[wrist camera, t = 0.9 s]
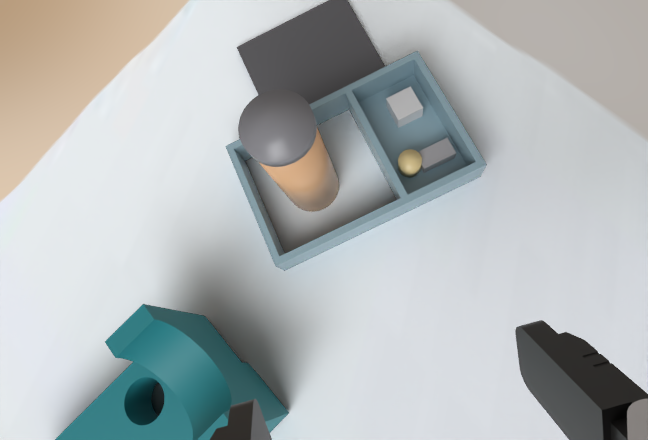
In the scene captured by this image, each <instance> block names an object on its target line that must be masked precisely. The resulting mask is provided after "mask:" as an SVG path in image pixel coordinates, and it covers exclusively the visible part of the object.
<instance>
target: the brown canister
mask: <svg viewBox="0 0 648 440" xmlns="http://www.w3.org/2000/svg"><path fill="white" fill-rule="evenodd" d="M238 131H239V138H240V141H241V143H242V145H243V147H244V148H245V149H246V151H247V152H248V153H249V154H250V155H251V156H252V157H253V158H254V159H255V160H256V161H258V162H259V163H260V165H261V166H262V167H263V168H264V169H265V170H266V172H267V173H268V174H269V175H270V176H271V177H272V179H273V180H274V181H275V182H276V183H277V185H278V186H279V187H280V188H281V189H282V190H283V192H284V193H285V194H286V195H287V196H288V197H289V199H290V200H291V201H292V202H293V203H294V204H295V205H296V206H297V207H298V208H300V209H302V210H305V211H319V210H322V209H324V208H326V207H328V206H329V205H330V204H331V203H332V202H333V201H334V200H335V198H336V196H337V194H338V190H339V180H338V177H337V174H336V172H335V170H334V167H333V165H332V162H331V160H330V157H329V155H328V152H327V150H326V148H325V145H324V143H323V140H322V138H321V135H320V133H319V130H318V128H317V124H316V119H315V117H314V114H313V112H312V109H311V107H310V105H309V104H308V102H307V101H306V100H305V99H304V98H303V97H302V96H300V95H299V94H297V93H295V92H293V91H290V90H283V89H277V90H270V91H267V92H264V93H262V94H260V95H258V96H257V97H255V98H254V99H253V100H252V101H251V102H250V103H249V104H248V105H247V106H246V108H245V109H244V111H243V113H242V115H241V117H240V121H239V127H238Z"/></svg>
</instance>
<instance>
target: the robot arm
mask: <svg viewBox="0 0 648 440" xmlns="http://www.w3.org/2000/svg"><path fill="white" fill-rule="evenodd" d="M516 341H517V349H518V357H519V365H520V371H521V375H522V377H523V380H524V382H525V384H526V386H527V387H528V389H529V390H530V392H531V393H532V394H533V395H534V397H535V398H536V399H537V400H538V402H539V403H540V404H541V405H542V407H543V408H544V409H545V410H546V411H547V413H548V414H549V415H550V416H551V418H552V419H553V420H554V421H555V423H556V424H557V425H558V426H559V428H560V429H561V430H562V431H563V433H564V434H565V435H566V436H567V437H568V439H569V440H648V394H647V393H646V392H645V391H643V390H642V389H641V388H640V387H639V386H638V385H636V384H635V383H634V382H633V381H632V380H631V379H629V378H628V377H627V376H626V375H625V374H624V373H622V372H621V371H620V370H619V369H618V368H617V367H615V366H614V365H613V364H612V363H611V364H610V363H609V361H608V360H607V359H606V358H605V357H604V356H602V355H601V354H599V353H598V351H597V350H595V349H594V348H593V347H592V346H591V345H590V344H588V343H587V342H586V341H585V340H583V339H581V338H578V337H576V336H574V335H572V334H569V333H567V332H565V333H561V334H558V333H556V332H555V331H554V330H553V329H552V328H551V327H550V326H549V325H548V324H547V323H545V322H544V321H542V320H541V321H537V322H533V323H530V324H526V325H522V326H519V327H517V328H516ZM210 440H272V439H271V436H270V433H269V431H268V428H267V425H266V422H265V420H264V417H263V414H262V411H261V409H260V406H259V403H258V401H257V400H256V399H253V400H249V401H246V402H242V403H238V404H235V405H232V406H231V407H230V411H229V418H228V425H227V426H224V427H220V428H217V429H216V430H215V432H214V433H213V435H212V437H211V438H210Z"/></svg>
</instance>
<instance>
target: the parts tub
mask: <svg viewBox="0 0 648 440" xmlns="http://www.w3.org/2000/svg"><path fill="white" fill-rule="evenodd" d="M309 105H310V107H311V109H312V112H313V114H314V117H315V119H316V124H317V125H318V124H320V123H322V122H324V121H326V120H328V119H330V118H332V117H335V116H337V115H339V114H341V113H343V112H345V111H347V110H350V112H351V114H352V116H353V117H354V119H355V121H356V123H357V125H358V127H359V129H360V131H361V133H362V135H363V136H364V138H365V140H366V142H367V144H368V146H369V148H370V150H371V152H372V154H373V155H374V157H375V159H376V161H377V163H378V165H379V167H380V169H381V171H382V173H383V174H384V176H385V178H386V180H387V182H388V184H389V186H390V188H391V190H392V192H393V193H394V195H395V197H396V199H397V200H396V201H394V202H392V203H389V204H387V205H385V206H383V207H381V208H379V209H377V210H375V211H373V212H371V213H369V214H367V215H365V216H362V217H360V218H358V219H356V220H354V221H352V222H350V223H348V224H346V225H344V226H342V227H340V228H338V229H335V230H333V231H331V232H329V233H327V234H325V235H323V236H321V237H319V238H317V239H315V240H313V241H311V242H308V243H306V244H304V245H302V246H300V247H298V248H296V249H294V250H292V251H290V252H288V253H286V254H285V253H284V251H283V249H282V246H281V244H280V242H279V239H278V237H277V235H276V232H275V230H274V228H273V225H272V223H271V221H270V218H269V216H268V214H267V211H266V209H265V207H264V204H263V202H262V200H261V197H260V195H259V193H258V190H257V188H256V186H255V183H254V181H253V179H252V176H251V174H250V172H249V169H248V167H247V165H246V162H245V161H246V160H248V159H250V158H252V156H251V155H250V154H249V153H248V152H247V151H246V149H245V148H244V147H243V145H242V143H241V141H240V139H239V140H237V141H235V142H233V143H231V144H229V145H227V146H226V149H227V151H228V153H229V156H230V158H231V161H232V163H233V165H234V168H235V170H236V173H237V175H238V177H239V180H240V182H241V185H242V187H243V189H244V192H245V194H246V196H247V199H248V201H249V204H250V206H251V208H252V211H253V213H254V216H255V218H256V220H257V223H258V225H259V228H260V230H261V232H262V235H263V237H264V240H265V242H266V244H267V247H268V249H269V252H270V254H271V256H272V259H273V261H274V263H275V266H276V267H278V268H280V269H282V270H284V271H285V270H287V269H289V268H291V267H293V266H295V265H297V264H299V263H301V262H304V261H306V260H308V259H310V258H312V257H314V256H316V255H318V254H320V253H322V252H324V251H326V250H329V249H331V248H333V247H335V246H337V245H339V244H341V243H343V242H345V241H347V240H349V239H351V238H354V237H356V236H358V235H360V234H362V233H364V232H366V231H368V230H370V229H372V228H374V227H377V226H379V225H381V224H383V223H385V222H387V221H389V220H391V219H393V218H395V217H397V216H399V215H402V214H404V213H406V212H408V211H410V210H412V209H414V208H416V207H418V206H420V205H422V204H424V203H427V202H429V201H431V200H433V199H435V198H437V197H439V196H441V195H443V194H445V193H447V192H449V191H452V190H454V189H456V188H458V187H460V186H462V185H464V184H466V183H468V182H470V181H472V180H474V179H477V178H479V177H480V176H481V174H482V172H483V171H484V169H485V167H486V165H487V164H486V163H485V161H484V159H483V158H482V156H481V154H480V153H479V151H478V149H477V148H476V146H475V145H474V143H473V141H472V140H471V138H470V136H469V135H468V133H467V131H466V130H465V128H464V126H463V125H462V123H461V122H460V120H459V118H458V117H457V115H456V113H455V112H454V110H453V108H452V107H451V105H450V103H449V102H448V100H447V99H446V97H445V95H444V94H443V92H442V90H441V89H440V87H439V85H438V84H437V82H436V80H435V79H434V77H433V76H432V74H431V72H430V71H429V69H428V67H427V66H426V64H425V62H424V61H423V59H422V57H421V56H420V54H419V52H418V51H416V52H414V53H412V54H410V55H408V56H406V57H404V58H402V59H400V60H398V61H396V62H394V63H392V64H390V65H388V66H386V67H384V68H382V69H380V70H378V71H376V72H374V73H372V74H370V75H368V76H366V77H364V78H362V79H360V80H358V81H356V82H354V83H352V84H350V85H348V86H346V87H344V88H342V89H340V90H338V91H336V92H334V93H331V94H329V95H327V96H325V97H323V98H321V99H319V100H317V101H315V102H313V103H311V104H309Z"/></svg>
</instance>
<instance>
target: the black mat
mask: <svg viewBox="0 0 648 440" xmlns="http://www.w3.org/2000/svg"><path fill="white" fill-rule="evenodd" d="M237 49H238V51H239V53H240V55H241V57H242V60H243V62H244V64H245V66H246V68H247V71H248V73H249V75H250V77H251V79H252V81H253V84H254V86H255V88H256V90H257V92H258V94H259V95H260V94H262V93H264V92H267V91H270V90H277V89H283V90H290V91H293V92H295V93H297V94H299V95H300V96H302V97H303V98H304V99H305V100H306V101H307V102H308V104H311V103H313V102H315V101H317V100H319V99H321V98H323V97H325V96H327V95H329V94H331V93H334V92H336V91H338V90H340V89H342V88H344V87H346V86H348V85H350V84H352V83H354V82H356V81H358V80H360V79H362V78H364V77H366V76H368V75H370V74H372V73H374V72H376V71H378V70H380V69H382V68H384V67H385V65H384V64H383V62H382V60H381V59H380V57H379V55H378V53H377V52H376V50H375V48H374V46H373V45H372V43H371V41H370V39H369V38H368V36H367V34H366V32H365V31H364V29H363V27H362V25H361V24H360V22H359V20H358V18H357V17H356V15H355V13H354V12H353V10H352V8H351V6H350V5H349V3H348V1H347V0H329V1H327V2H325V3H323V4H321V5H319V6H317V7H315V8H313V9H311V10H309V11H307V12H305V13H303V14H301V15H299V16H297V17H295V18H293V19H291V20H289V21H287V22H285V23H284V24H282V25H280V26H278V27H276V28H274V29H272V30H270V31H268V32H266V33H264V34H262V35H260V36H258V37H256V38H254V39H252V40H250V41H248V42H246V43H244V44H242V45H240V46H238V47H237Z"/></svg>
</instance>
